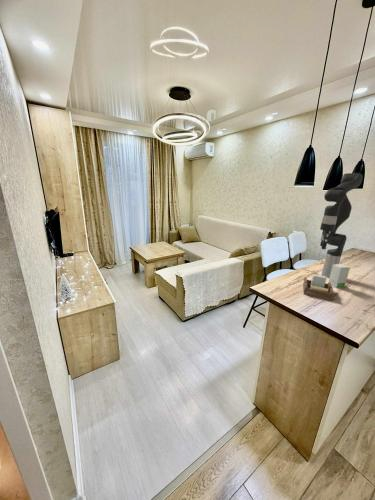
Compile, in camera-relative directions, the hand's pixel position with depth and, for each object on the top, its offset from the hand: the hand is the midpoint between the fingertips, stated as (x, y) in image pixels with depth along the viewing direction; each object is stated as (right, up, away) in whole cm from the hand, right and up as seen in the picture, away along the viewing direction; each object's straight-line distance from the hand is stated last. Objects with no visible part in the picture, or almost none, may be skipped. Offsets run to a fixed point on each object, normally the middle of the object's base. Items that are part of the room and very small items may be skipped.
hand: (322, 247), depth 135 cm
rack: (-6, -29, -2) cm, 30 cm away
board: (-4, -28, 0) cm, 28 cm away
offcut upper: (-7, -27, -7) cm, 29 cm away
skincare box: (+15, -27, +9) cm, 32 cm away
